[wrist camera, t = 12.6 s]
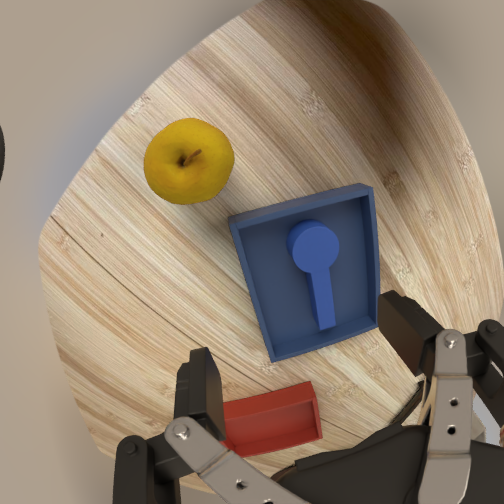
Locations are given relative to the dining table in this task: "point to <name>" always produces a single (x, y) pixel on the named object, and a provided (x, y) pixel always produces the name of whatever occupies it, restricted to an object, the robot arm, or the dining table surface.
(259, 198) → the dining table surface
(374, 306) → the blue tray
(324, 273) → the spoon
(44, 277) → the dining table surface
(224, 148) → the apple
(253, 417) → the red tray
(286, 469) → the plate
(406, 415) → the knife
